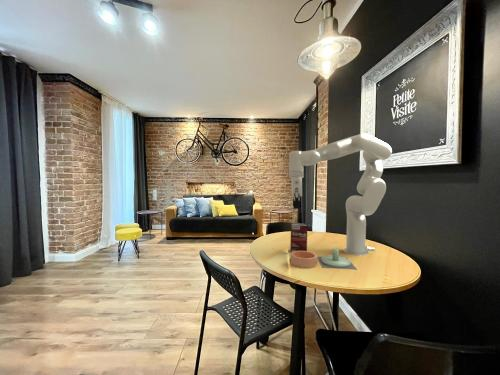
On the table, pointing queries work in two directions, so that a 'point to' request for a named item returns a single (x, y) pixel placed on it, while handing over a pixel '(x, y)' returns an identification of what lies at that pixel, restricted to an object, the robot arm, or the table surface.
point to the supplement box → (298, 237)
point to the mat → (336, 267)
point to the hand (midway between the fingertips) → (296, 207)
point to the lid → (335, 260)
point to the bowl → (304, 259)
